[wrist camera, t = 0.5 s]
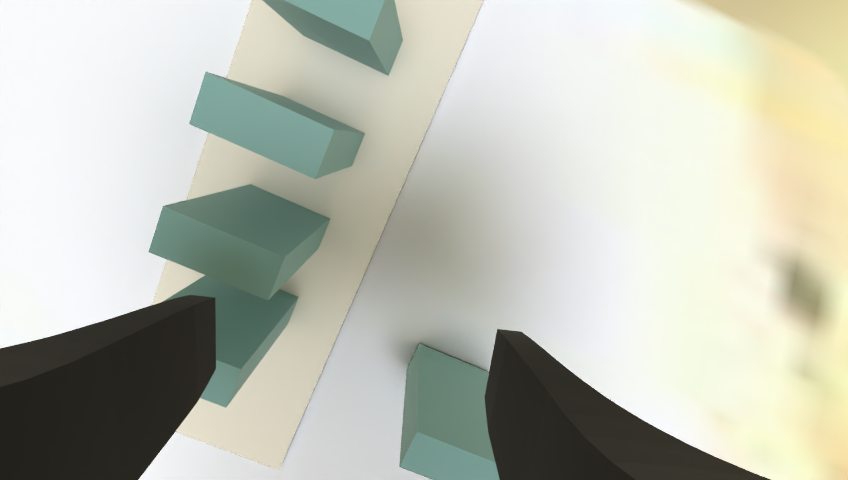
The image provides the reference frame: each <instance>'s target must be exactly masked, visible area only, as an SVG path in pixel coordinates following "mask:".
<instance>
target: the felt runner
mask: <svg viewBox="0 0 848 480" xmlns="http://www.w3.org/2000/svg"><path fill="white" fill-rule="evenodd" d="M482 3H483V0H395V5H396V9H397V14H398V19H399V24H400V28H401V33H402V38H403V41H402V44H401V46H400V49H399V51H398V54H397V56H396V59H395V61H394V64H393V66H392V69H391V71H390V74H389V76H388V75H386V74H383V73H381V72H379V71H377V70H375V69H373V68H371V67H369V66H366V65H364V64H362V63H360V62H358V61H356V60H354V59H352V58H349V57H347V56H345V55H343V54H341V53H339V52H337V51H335V50H332V49H330V48H328V47H326V46H324V45H322V44H320V43H317V42H315V41H313V40H311V39H309V38H307V37H305V36H303V35H302V34H301V33H300V32H298V31H297V30H296V29H295V28H294V27H293V26H291V25H290V24H289V23H288V22H287V21H286V20H284V19H283V18H282V17H281V16H280V15H279V14H278V13H276V12H275V11H274V10H273V9H272V8H271V7H269V6H268V5H267V4H266V3H265V2H264V1H262V0H252V2H251V5H250V8H249V11H248V14H247V17H246V20H245V23H244V26H243V29H242V32H241V35H240V38H239V41H238V44H237V47H236V50H235V54H234V57H233V60H232V63H231V66H230V69H229V72H228V75H227V79H231V80H234V81H237V82H240V83H243V84H247V85H250V86H253V87H256V88H259V89H263V90H266V91H269V92H272V93H275V94H279V95H282V96H284V97H286V98H288V99H291V100H293V101H295V102H297V103H300V104H302V105H304V106H306V107H308V108H311V109H313V110H315V111H317V112H319V113H322V114H324V115H326V116H328V117H330V118H333V119H335V120H337V121H339V122H341V123H344V124H346V125H348V126H350V127H352V128H355V129H357V130H359V131H361V132H363V133H365V135H364V138H363V140H362V143H361V145H360V147H359V150H358V152H357V155H356V157H355V160H354V162H353V165H352V166H350V167H348V168H345V169H342V170H339V171H337V172H334V173H331V174H328V175H325V176H323V177H320V178H317V179H314V178H311V177H309V176H307V175H305V174H302V173H300V172H298V171H295V170H293V169H291V168H289V167H286V166H284V165H282V164H280V163H277V162H275V161H273V160H270V159H268V158H266V157H264V156H261V155H259V154H257V153H254V152H252V151H250V150H248V149H245V148H243V147H241V146H239V145H236V144H234V143H232V142H229V141H227V140H225V139H223V138H220V137H218V136H216V135H213V134H211V133H208V136H207V139H206V142H205V145H204V148H203V151H202V154H201V157H200V160H199V163H198V166H197V169H196V172H195V175H194V178H193V181H192V185H191V188H190V191H189V194H188V197H187V200H190V199H193V198H197V197H201V196H205V195H209V194H213V193H217V192H221V191H225V190H229V189H233V188H237V187H241V186H245V185H249V184H252V185H254V186H256V187H259V188H261V189H263V190H265V191H268V192H270V193H272V194H275V195H277V196H279V197H282V198H284V199H286V200H289V201H291V202H293V203H296V204H298V205H300V206H303V207H305V208H307V209H309V210H312V211H314V212H316V213H319V214H321V215H323V216H326V217H328V218H330V221H329V224H328V226H327V229H326V231H325V234H324V236H323V239H322V241H321V244H320V246H319V249H318V250H317V251H316V252H315V253H314V254H313V255H312V256H311V257H310V258H309V259H308V260H307V261H306V262H305V263H304V264H303V265H302V266H301V267H300V268H299V269H298V270H297V271H296V272H295V273H294V274H293V275H292V276H291V277H290V278H289V279H288V280H287V281H286V282H285V284H284V285H283V286H282V287H281V288H280V289H281V290H283V291H285V292H288V293H290V294H293V295H295V296H298V297H299V298H298V300H297V303H296V305H295V308H294V310H293V313H292V315H291V318H290V320H289V322H288V325H287V326H286V327H285V329H284V330H283V332H282V333H281V334H280V336H279V337H278V338H277V340H276V341H275V342H274V344H273V345H272V346H271V348H270V349H269V350H268V352H267V353H266V355H265V356H264V357H263V359H262V360H261V361H260V363H259V364H258V365H257V367H256V368H255V369H254V371H253V372H252V373H251V375H250V376H249V378H248V379H247V380H246V382H245V383H244V384H243V386H242V387H241V388H240V390H239V391H238V392H237V394H236V395H235V396H234V398H233V399H232V401H231V402H230V403H229V405H228V406H227V407H226V408H225V407H222V406H220V405H217V404H215V403H212V402H209V401H207V400H204V399H201V398H199V400H198V402H197V403H196V405H195V406H194V407H193V409H192V410H191V411H190V413H189V414H188V415H187V417H186V418H185V419H184V421H183V422H182V423H181V425H180V426H179V427H178V429H177V430H176V431H175V432H177V433H180V434H183V435H186V436H188V437H191V438H194V439H196V440H199V441H202V442H204V443H207V444H210V445H212V446H215V447H218V448H220V449H223V450H226V451H229V452H231V453H234V454H237V455H239V456H242V457H245V458H247V459H250V460H253V461H255V462H258V463H261V464H264V465H266V466H269V467H272V468H274V469H277V470H279V469H280V467H281V464H282V462H283V460H284V457H285V455H286V453H287V450H288V448H289V446H290V444H291V441H292V439H293V437H294V434H295V432H296V430H297V427H298V425H299V423H300V421H301V418H302V416H303V414H304V411H305V409H306V407H307V405H308V402H309V400H310V398H311V395H312V393H313V391H314V388H315V386H316V384H317V382H318V379H319V377H320V375H321V372H322V370H323V368H324V365H325V363H326V361H327V359H328V356H329V354H330V352H331V349H332V347H333V345H334V343H335V340H336V338H337V336H338V333H339V331H340V329H341V326H342V324H343V322H344V320H345V317H346V315H347V313H348V310H349V308H350V306H351V303H352V301H353V299H354V297H355V294H356V292H357V290H358V287H359V285H360V283H361V281H362V278H363V276H364V274H365V271H366V269H367V267H368V264H369V262H370V260H371V258H372V255H373V253H374V251H375V248H376V246H377V244H378V242H379V239H380V237H381V235H382V232H383V230H384V228H385V225H386V223H387V221H388V219H389V216H390V214H391V212H392V209H393V207H394V205H395V202H396V200H397V198H398V196H399V193H400V191H401V189H402V186H403V184H404V182H405V180H406V177H407V175H408V173H409V170H410V168H411V166H412V163H413V161H414V159H415V157H416V154H417V152H418V150H419V147H420V145H421V143H422V140H423V138H424V136H425V134H426V131H427V129H428V127H429V124H430V122H431V120H432V118H433V115H434V113H435V111H436V108H437V106H438V104H439V101H440V99H441V97H442V95H443V92H444V90H445V88H446V85H447V83H448V81H449V78H450V76H451V74H452V72H453V69H454V67H455V65H456V62H457V60H458V58H459V56H460V53H461V51H462V49H463V46H464V44H465V42H466V39H467V37H468V35H469V33H470V30H471V28H472V26H473V23H474V21H475V19H476V16H477V14H478V12H479V10H480V7H481V5H482ZM203 276H205V275H204V274H202V273H199V272H197V271H194V270H192V269H189V268H187V267H184V266H182V265H180V264H177V263H175V262H172V261H170V260H167V261H166V264H165V267H164V270H163V273H162V276H161V279H160V282H159V285H158V288H157V291H156V294H155V297H154V300H153V303H152V305H155V304H158V303H161V302H163V301H164V300H166V299H168V298H169V297H171V296H172V295H174V294H176V293H177V292H179V291H180V290H182V289H184V288H185V287H187V286H189V285H190V284H192V283H193V282H195V281H197V280H198V279H200V278H202V277H203Z"/></svg>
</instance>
